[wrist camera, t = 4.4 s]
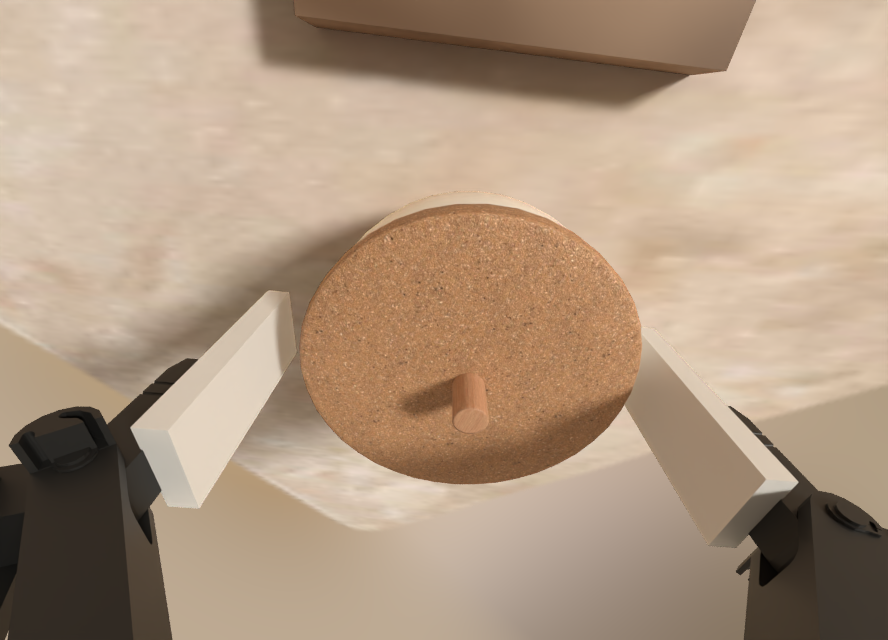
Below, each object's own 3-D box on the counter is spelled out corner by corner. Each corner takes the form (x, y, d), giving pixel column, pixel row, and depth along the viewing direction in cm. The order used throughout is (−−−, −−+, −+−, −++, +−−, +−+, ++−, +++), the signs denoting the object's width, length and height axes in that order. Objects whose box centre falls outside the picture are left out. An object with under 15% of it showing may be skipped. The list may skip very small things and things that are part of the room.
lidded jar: (333, 328, 20) (252, 483, 12) (392, 121, 14) (319, 144, 6) (508, 386, 22) (542, 554, 14) (616, 221, 16) (775, 334, 8)
